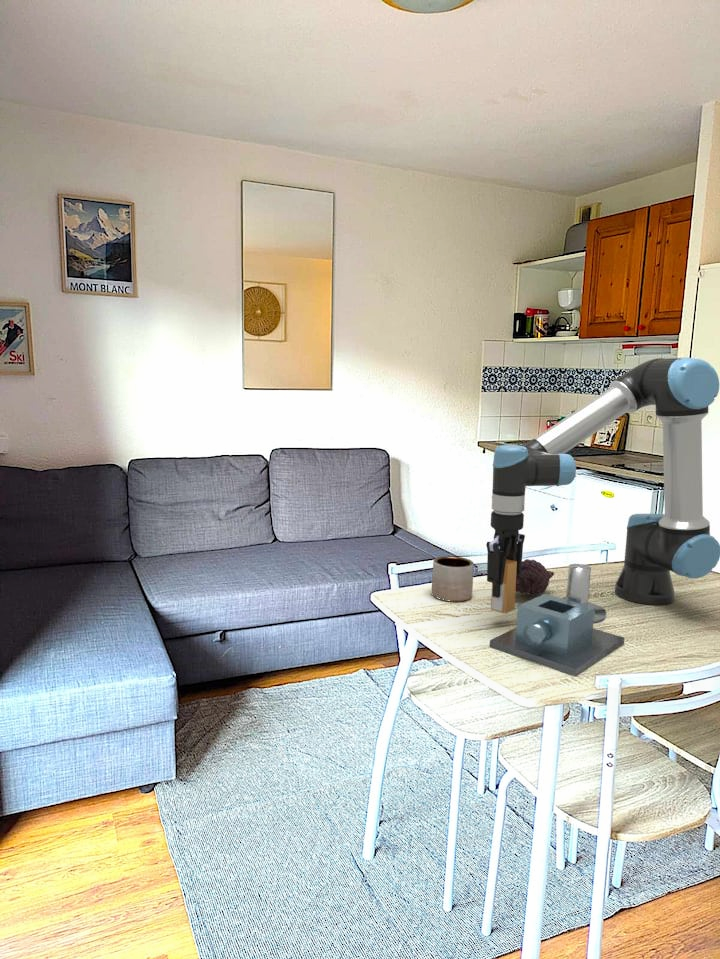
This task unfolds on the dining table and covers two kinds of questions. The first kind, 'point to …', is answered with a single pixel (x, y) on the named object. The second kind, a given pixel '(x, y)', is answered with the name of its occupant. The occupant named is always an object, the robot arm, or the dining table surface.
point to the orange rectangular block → (508, 586)
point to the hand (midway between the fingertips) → (502, 606)
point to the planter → (452, 578)
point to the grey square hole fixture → (561, 628)
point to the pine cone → (533, 578)
